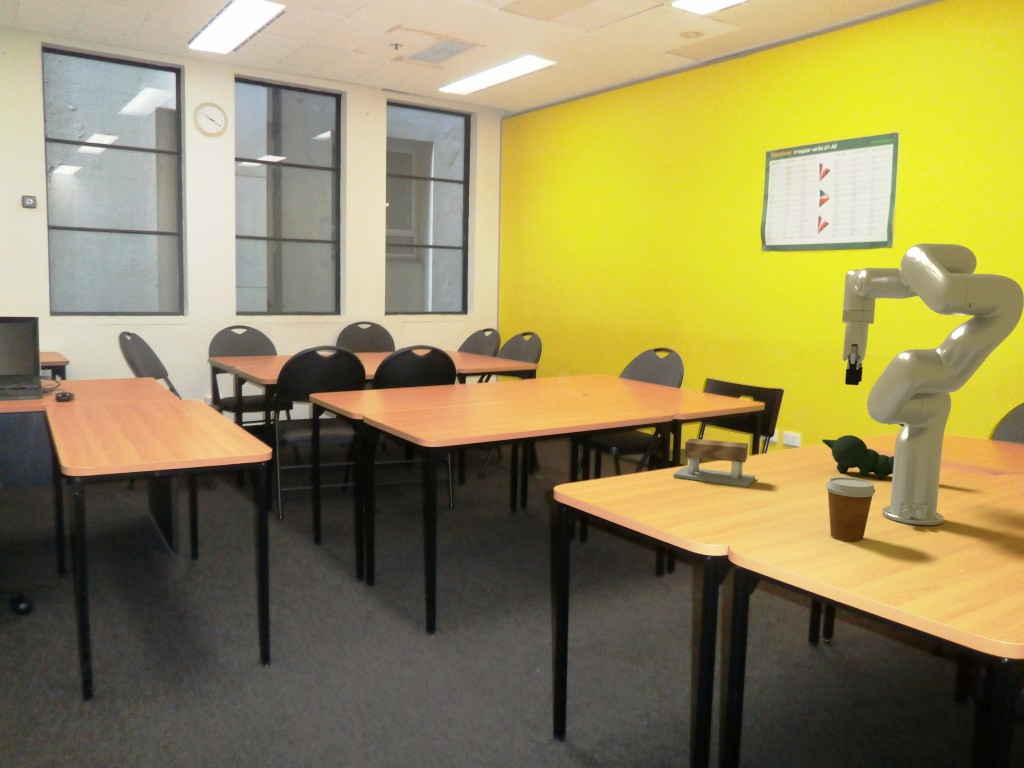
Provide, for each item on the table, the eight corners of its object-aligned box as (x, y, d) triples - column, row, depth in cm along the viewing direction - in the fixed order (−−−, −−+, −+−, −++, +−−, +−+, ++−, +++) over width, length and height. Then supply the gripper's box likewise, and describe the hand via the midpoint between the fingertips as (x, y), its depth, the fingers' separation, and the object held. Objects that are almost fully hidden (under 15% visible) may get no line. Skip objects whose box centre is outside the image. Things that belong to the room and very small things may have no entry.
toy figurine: (912, 483, 217) (820, 464, 230) (924, 419, 214) (830, 403, 227) (909, 490, 209) (814, 470, 222) (922, 423, 206) (825, 406, 219)
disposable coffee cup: (848, 546, 155) (852, 489, 154) (812, 533, 164) (816, 478, 162) (881, 541, 159) (886, 485, 157) (845, 528, 167) (849, 475, 166)
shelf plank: (684, 456, 211) (685, 442, 210) (688, 452, 217) (689, 438, 217) (744, 462, 205) (745, 447, 204) (747, 457, 211) (748, 443, 211)
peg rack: (747, 487, 202) (748, 465, 202) (673, 477, 212) (674, 456, 211) (755, 479, 212) (756, 457, 211) (684, 470, 221) (685, 449, 221)
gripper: (845, 316, 207) (841, 379, 209) (839, 317, 192) (834, 385, 194) (875, 317, 204) (871, 381, 206) (872, 318, 189) (866, 387, 191)
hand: (853, 383), depth 200 cm, fingers open, 9 cm apart
